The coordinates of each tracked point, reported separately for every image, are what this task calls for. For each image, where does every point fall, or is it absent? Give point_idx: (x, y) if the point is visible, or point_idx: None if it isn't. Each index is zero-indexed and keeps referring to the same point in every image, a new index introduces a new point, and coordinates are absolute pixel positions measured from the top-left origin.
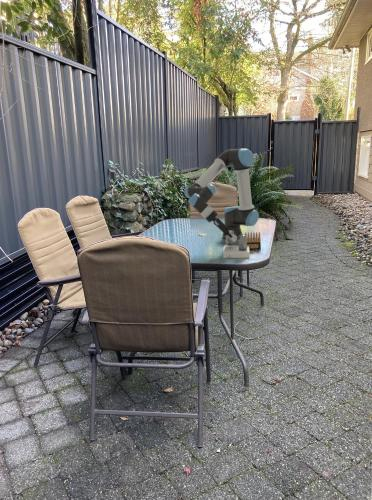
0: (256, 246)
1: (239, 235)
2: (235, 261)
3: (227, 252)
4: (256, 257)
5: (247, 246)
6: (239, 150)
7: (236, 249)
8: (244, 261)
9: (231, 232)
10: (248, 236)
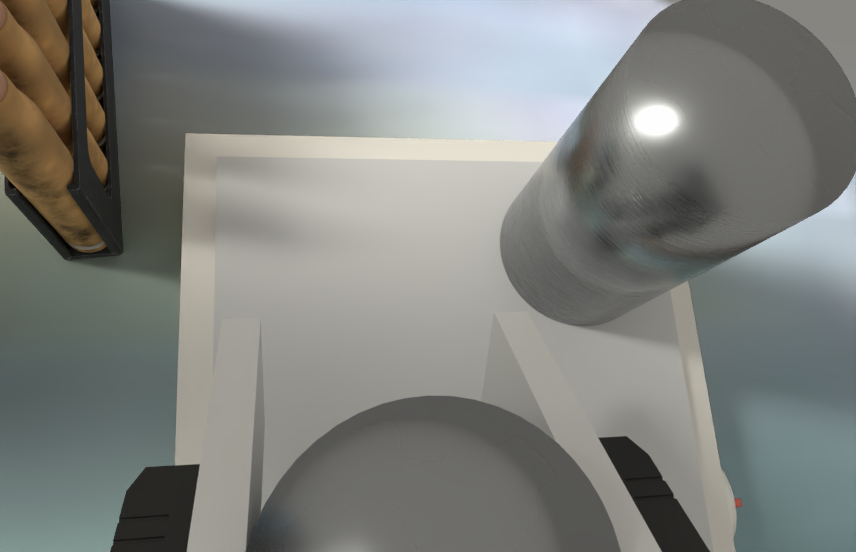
0: (90, 13)
1: (773, 196)
2: (843, 388)
3: (731, 547)
4: (586, 91)
5: (240, 160)
6: None
7: (567, 370)
8: (813, 258)
9: (574, 486)
10: (8, 20)
